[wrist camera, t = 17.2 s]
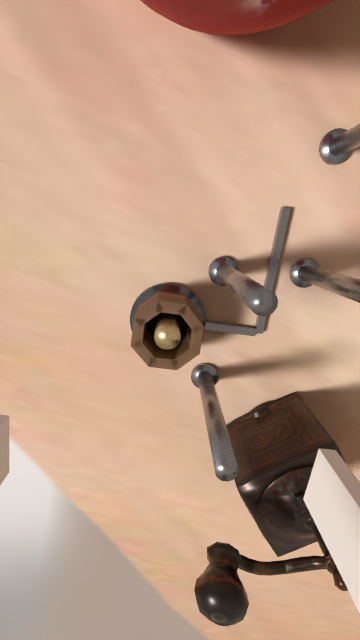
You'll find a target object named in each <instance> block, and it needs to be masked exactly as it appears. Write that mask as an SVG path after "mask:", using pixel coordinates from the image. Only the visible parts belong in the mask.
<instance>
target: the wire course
mask: <svg viewBox="0 0 360 640" xmlns="http://www.w3.org/2000/svg"><path fill="white" fill-rule="evenodd" d="M359 146H360V124H359V125H357V126H355V127H353V128H351V129H350V130H348V131H346V130H344V129H340V128H339V129H334V130H332V131H330V132H328V133H327V134H326V135H325V136H324V137H323V139H322V140H321V143H320V148H319V152H320V156H321V158H322V159H323V161H324V162H326V163H327V164H330V165H336V164H339V163H342V162H343V161H345V160H346V159H347V158H348V157H349V156H350V154H351V152H352V149H355V148H357V147H359ZM290 211H291V208H287V207H281V210H280V214H279V219H278V224H277V228H276V233H275V238H274V242H273V247H272V251H271V256H270V261H269V265H268V270H267V274H266V279H265V284H264V286H262V285H261V284H259V283H257V282H256V281H254V280H252V279H251V278H249V277H247V276H246V275H244V274H242V273H241V272H239V271H238V266H237V264H236V262H235V261H234V260H233V259H231V258H229V257H225V256H222V257H218V258H216V259H215V260H213V261H212V263H211V264H210V267H209V276H210V278H211V280H212V281H213V282H214V283H215V284H217V285H220V286H228V287H229V288H230V289H231V290H232V291H233V292H234V293H235V294H236V295H237V296H238V297H239V298H240V299H241V300H242V301H243V302H244V303H245V304H246V305H247V306H248V307H249V308H250V309H251V310H252V311H253V312H254V313H255V314H257V315H258V316H257V321H256V325H255V327H247V326H239V325H232V324H224V323H216V322H209V321H205V327H204V330H211V331H219V332H227V333H234V334H242V335H250V336H255V333H262V334H263V331H264V326H265V322H266V317H267V315H270V314H271V313H273V312H274V311H275V309H276V307H277V304H278V299H277V296H276V295H275V293H273V292H272V291H273V286H274V282H275V277H276V273H277V268H278V264H279V259H280V255H281V251H282V246H283V242H284V237H285V233H286V228H287V224H288V219H289V215H290ZM290 279H291V281H292V282H293V283H294V284H295V285H296V286H299V287H302V288H305V287H309V286H311V285H315V286H318V287H320V288H323V289H325V290H328V291H331V292H333V293H336V294H338V295H341V296H344V297H346V298H349V299H351V300H354V301H357V302H359V303H360V279H357V278H353V277H349V276H345V275H341V274H338V273H334V272H330V271H326V270H322V269H320V268H319V266H318V264H317V263H316V262H315V261H314V260H312V259H308V258H303V259H300V260H298V261H296V262H295V263H294V264H293V266H292V267H291V270H290ZM191 379H192V382H193V384H194V385H195V386H196V387H198V388H200V393H201V398H202V404H203V409H204V414H205V420H206V425H207V430H208V436H209V441H210V446H211V451H212V457H213V462H214V467H215V473H216V476H217V477H218V478H219V479H220V480H222V481H231V480H233V479H234V478H236V477H237V475H238V472H239V469H238V466H237V462H236V459H235V455H234V452H233V448H232V445H231V441H230V438H229V434H228V431H227V427H226V424H225V420H224V417H223V414H222V410H221V407H220V403H219V400H218V396H217V393H216V389H215V386H214V385H215V383H216V382H217V379H218V374H217V371H216V369H215V368H214V367H213V366H212V365H210V364H207V363H203V364H199V365H197V366H196V367H195V368H194V369H193V371H192V373H191Z"/></svg>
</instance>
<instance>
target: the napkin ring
mask: <svg viewBox="0 0 360 640" xmlns="http://www.w3.org/2000/svg"><path fill="white" fill-rule="evenodd" d="M160 312H163V313H171V314H178V315H181V316H182V317H183V319H184V320H185V321H186V322H187V324H188V327H187V332H186V333H185V334H183V335H182V336H181V339H180V342H179V344H178V345H177V346H176V347H174V348H172V349H162V348H160V347H159V346H158V345H157V344H156V342H155V339H154V336H153V335H152V333H151V332H150V331H149V330H148V329H147V327H146V323H147V322H148V321H149V320H150V319H152V318H153V317H154V316H156V315H157V314H159V313H160ZM203 330H204V326H203V323H202V320H201V317H200V314H199V312H198V311H197V310H196V309H195V307H194V306H193V305H192V303H191V302H190V301H189V299H188V298H187V297H186V295H185V294H183V293H175V292H168V291H160V290H159V291H157V292H156V293H155V294H153V295H152V296H151V297H149V298H148V299H147V300H145V301H144V302H143V303H141V304H140V305H139V306H138V309H137V311H136V314H135V316H134V321H133V330H132V339H131V347H132V348H133V349H134V350H135V351H136V352H137V354H138V355H139V356H140V357H141V358H142V359H143V361H144V362H145V363H146V364H147V365H148V366H149V367H155V368H163V369H172V370H178V369H179V368H180V367H182V366H183V365H185V364H186V363H187V362H189V361H190V360H192V359H193V358H195V357H196V356H197V355H199V354H200V348H201V342H202V336H203Z"/></svg>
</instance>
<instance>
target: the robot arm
mask: <svg viewBox="0 0 360 640" xmlns="http://www.w3.org/2000/svg"><path fill="white" fill-rule="evenodd" d="M8 473H9V416H6V415H0V485H1V483H2V482H3V480H4V479H5V477H6V476H7V474H8ZM303 500H304V502H305V504H306V506H307V508H308V510H309V512H310V514H311V516H312V518H313V520H314V522H315V524H316V526H317V528H318V530H319V532H320V534H321V536H322V538H323V540H324V542H325V544H326V546H327V548H328V550H329V552H330V554H331V556H332V558H333V560H334V562H335V564H336V566H337V568H338V570H339V572H340V574H341V576H342V578H343V580H344V582H345V584H346V586H347V589H348V591H349V593H350V595H351V597H352V599H353V601H354V603H355V605H356V607H357V609H358V611H359V613H360V482H359V480H358V479H357V478H356V476H355V475H354V474H353V472H352V471H351V470H350V468H349V467H348V466H347V464H346V463H345V462H344V461H343V459H342V458H341V457H340V455H339V454H338V453H337V451H336V450H330V449H320V448H319V450H318V453H317V456H316V459H315V463H314V466H313V469H312V472H311V476H310V479H309V482H308V485H307V489H306V492H305V495H304V499H303Z"/></svg>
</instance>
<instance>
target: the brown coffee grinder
mask: <svg viewBox="0 0 360 640" xmlns="http://www.w3.org/2000/svg"><path fill="white" fill-rule="evenodd" d="M226 427H227V431H228V434H229V438H230V441H231V445H232V448H233V452H234V455H235V459H236V462H237V466H238V469H239V472H238V475H237V477H236V478H234V479H235V483H236V486H237V488H238V491H239V493H240V496H241V498H242V500H243V501H244V503H245V505H246V507H247V508H248V510H249V512H250V513H251V515H252V517H253V518H254V520H255V522H256V524H257V525H258V527H259V529H260V531H261V533H262V535H263V536H264V538H265V539H266V540H267V541H268V543H269V544H270V546H271V547H272V549H273V550H274V552H275V553H276V555H277V556H278V557H279V556H282V555H284V554H287V553H290V552H292V551H295V550H297V549H300V548H302V547H305V546H307V545H309V544H312V543H314V542H317V541H318V543H319V545H320V548H321V550H322V552H323V554H324V556H323V557H322V556H309V557H299V558H293V559H288V560H282V561H272V562H261V561H256V560H253V559H249V558H247V557H245V556H243V555H240V554H239V551H238V550H237V549H235V548H234V547H233V546H231V545H230V544H226V543H220V542H216V543H214V544H213V545H211V546H209V547H207V559H208V561H209V565H208V567H207V568H206V570H205V571H204V573H203V574H202V575H201V576H200V577H199V578H198V579H197V580H196V585H195V595H196V600H197V604H198V607H199V611H200V612H201V613H202V614H203V615H204V616H205V617H206V618H207V619H208V620H210V621H212V622H214V623H216V624H218V625H221V626H229V625H233V624H236V623H238V622H240V621H242V620H243V618H244V617H245V615H246V611H247V608H248V605H249V602H248V597H247V593H246V591H245V589H244V587H243V585H242V582H241V581H240V579H239V576H238V574H237V569H238V568H239V569H242V570H244V571H246V572H249V573H253V574H257V575H280V574H289V573H296V572H303V571H310V570H318V569H327V570H328V571H329V572H330V573H331V574H333V578H334V583H335V586H337V587H338V588H339V589H341V590H342V591H348V589H347V586H346V584H345V582H344V580H343V578H342V576H341V574H340V572H339V570H338V568H337V566H336V564H335V562H334V560H333V558H332V556H331V554H330V552H329V550H328V548H327V546H326V544H325V542H324V540H323V538H322V536H321V534H320V532H319V530H318V528H317V526H316V524H315V522H314V520H313V518H312V516H311V514H310V512H309V510H308V508H307V506H306V504H305V502H304V500H303V499H304V495H305V492H306V489H307V485H308V482H309V479H310V476H311V472H312V469H313V466H314V463H315V459H316V456H317V453H318V450H319V448H320V449H330V450H336V451H337V453H338V454H339V455H340V457H341V458H342V459H343V461H344V462H345V463H346V461H345V459H344V457H343V455H342V453H341V451H340V449H339V447H338V446H337V444H336V443H335V442H334V440H333V439H332V438H331V437H330V436H329V435H328V433H327V432H326V431H325V429H324V428H323V427H322V425H321V424H320V423H319V422H318V420H317V419H316V418H315V416H314V415H313V414H312V413H311V411H310V410H309V409H308V408H307V406H306V405H305V404H304V402H303V400H302V398H301V397H300V396H299V395H298V394H297V393H296V392H295V393H293V394H290V395H288V396H285V397H283V398H280V399H278V400H275V401H273V402H270V403H268V404H265V405H262V406H260V407H258V408H256V409H254V410H252V411H250V412H249V413H247V414H246V415H244V416H242V417H240V418H238V419H236V420H234V421H232V422H231V423H230V424H228V425H227V426H226Z"/></svg>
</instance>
